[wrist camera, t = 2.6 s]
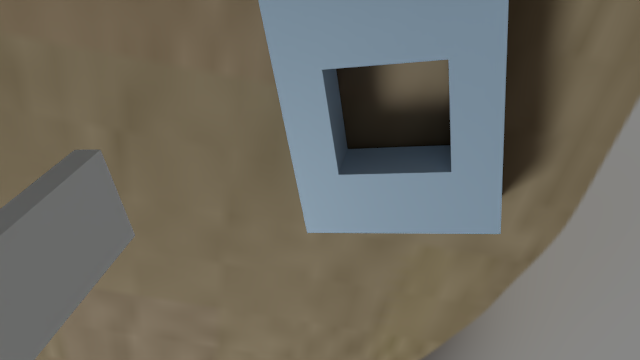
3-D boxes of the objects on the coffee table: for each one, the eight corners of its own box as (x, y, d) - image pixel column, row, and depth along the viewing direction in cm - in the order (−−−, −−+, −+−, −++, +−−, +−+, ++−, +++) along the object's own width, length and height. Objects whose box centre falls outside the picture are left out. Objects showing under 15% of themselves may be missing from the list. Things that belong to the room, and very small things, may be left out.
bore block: (274, -22, 25) (256, -10, 23) (503, -53, 22) (510, -43, 20) (317, 204, 32) (307, 232, 30) (495, 202, 29) (500, 233, 27)
